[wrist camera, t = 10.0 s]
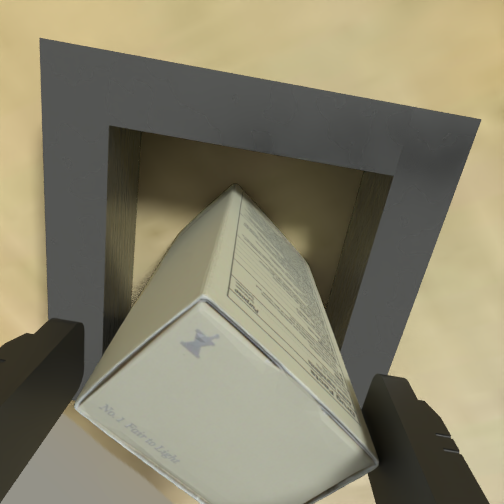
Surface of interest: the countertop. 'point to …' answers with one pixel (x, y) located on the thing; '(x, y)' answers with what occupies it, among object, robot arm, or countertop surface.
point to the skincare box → (232, 370)
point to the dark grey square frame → (249, 138)
